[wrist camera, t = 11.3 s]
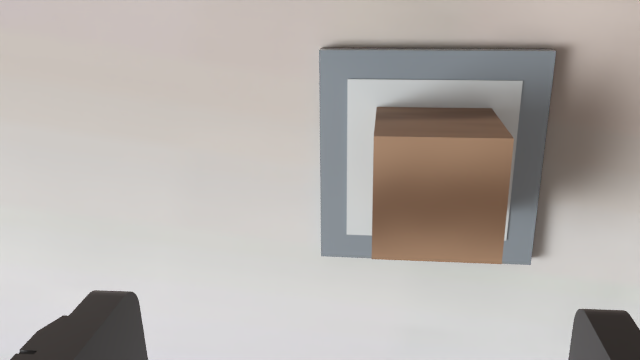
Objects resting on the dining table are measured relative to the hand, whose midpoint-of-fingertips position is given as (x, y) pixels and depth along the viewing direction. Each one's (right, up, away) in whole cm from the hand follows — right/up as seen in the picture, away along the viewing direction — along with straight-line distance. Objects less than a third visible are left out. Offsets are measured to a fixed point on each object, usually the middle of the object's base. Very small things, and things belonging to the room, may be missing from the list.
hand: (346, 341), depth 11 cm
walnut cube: (+6, +4, +22) cm, 23 cm away
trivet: (+6, +4, +22) cm, 24 cm away
